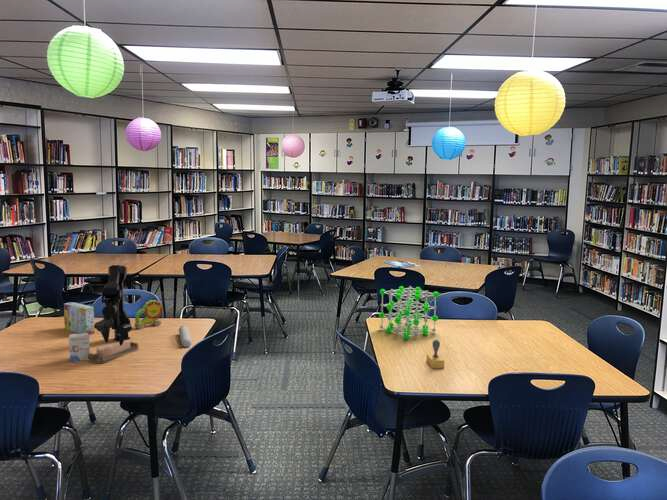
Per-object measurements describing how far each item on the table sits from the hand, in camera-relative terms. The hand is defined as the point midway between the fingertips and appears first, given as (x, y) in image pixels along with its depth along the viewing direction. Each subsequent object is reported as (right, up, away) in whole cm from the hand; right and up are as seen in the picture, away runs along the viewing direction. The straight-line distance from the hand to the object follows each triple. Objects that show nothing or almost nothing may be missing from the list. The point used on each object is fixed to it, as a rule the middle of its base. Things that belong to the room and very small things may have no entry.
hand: (113, 343), depth 248 cm
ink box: (-14, -6, -5) cm, 16 cm away
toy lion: (0, +1, +50) cm, 50 cm away
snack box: (-36, 0, +39) cm, 53 cm away
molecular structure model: (+148, -2, +46) cm, 155 cm away
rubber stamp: (+154, -9, -6) cm, 154 cm away
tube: (+27, -3, +25) cm, 37 cm away
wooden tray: (0, -6, +1) cm, 6 cm away
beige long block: (0, -5, +1) cm, 5 cm away
